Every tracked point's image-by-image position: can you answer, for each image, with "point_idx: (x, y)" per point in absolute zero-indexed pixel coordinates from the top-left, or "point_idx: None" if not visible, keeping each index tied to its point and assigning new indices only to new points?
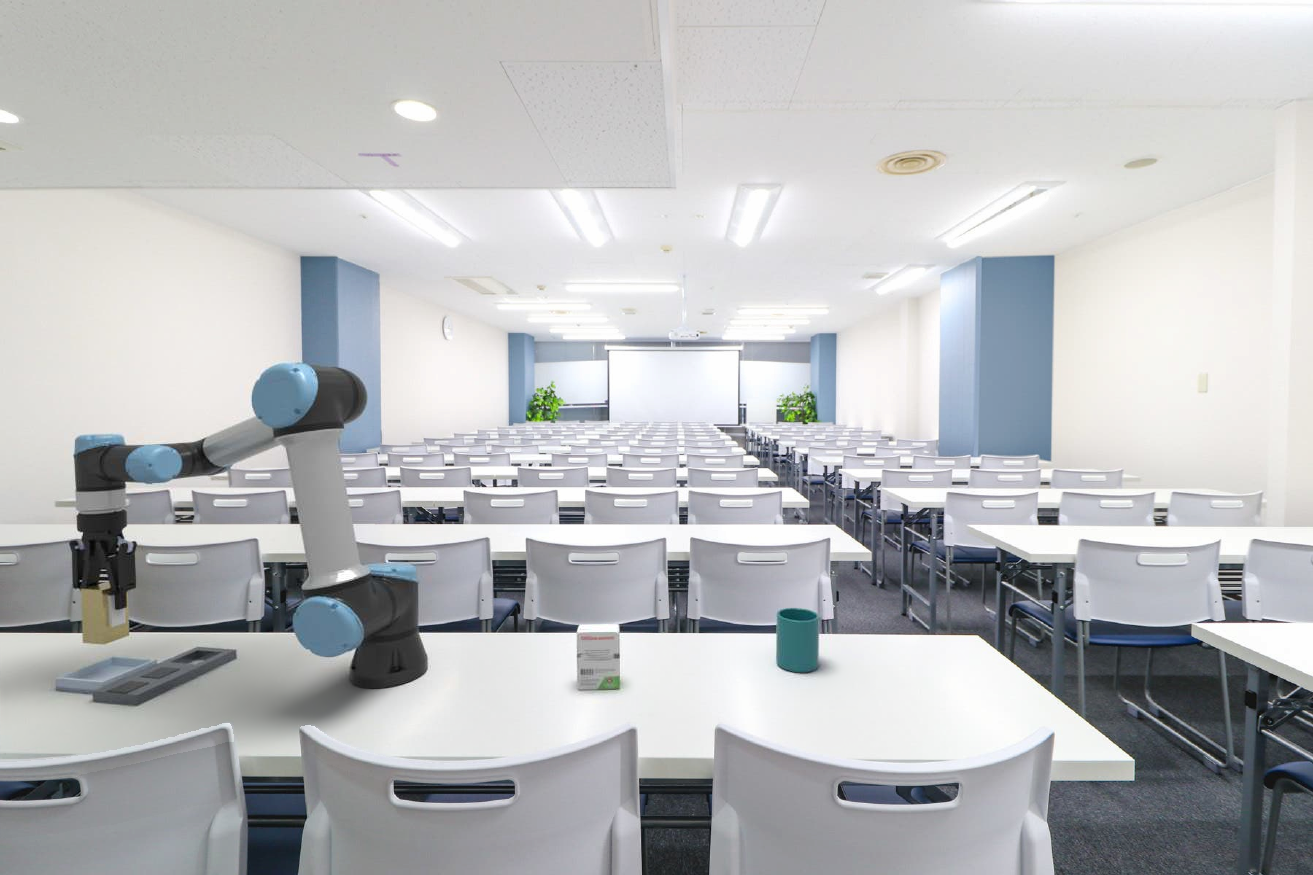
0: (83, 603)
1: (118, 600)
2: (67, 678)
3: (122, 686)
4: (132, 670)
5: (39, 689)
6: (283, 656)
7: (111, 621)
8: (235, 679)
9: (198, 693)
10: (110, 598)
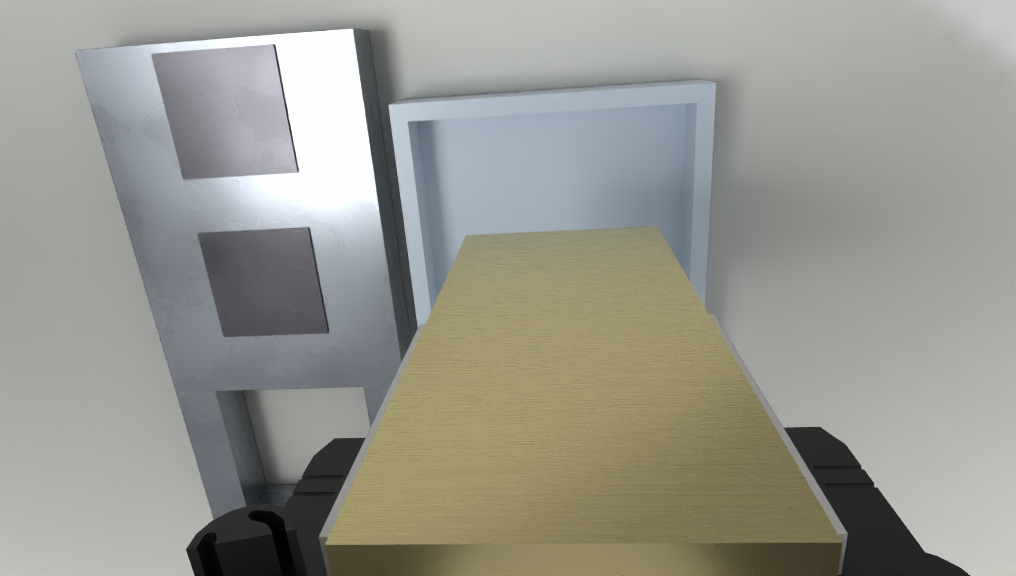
0: (713, 383)
1: (294, 510)
2: (636, 95)
3: (256, 109)
4: (412, 264)
5: (804, 68)
6: (83, 556)
7: (412, 346)
8: (18, 356)
9: (5, 216)
10: (345, 498)
